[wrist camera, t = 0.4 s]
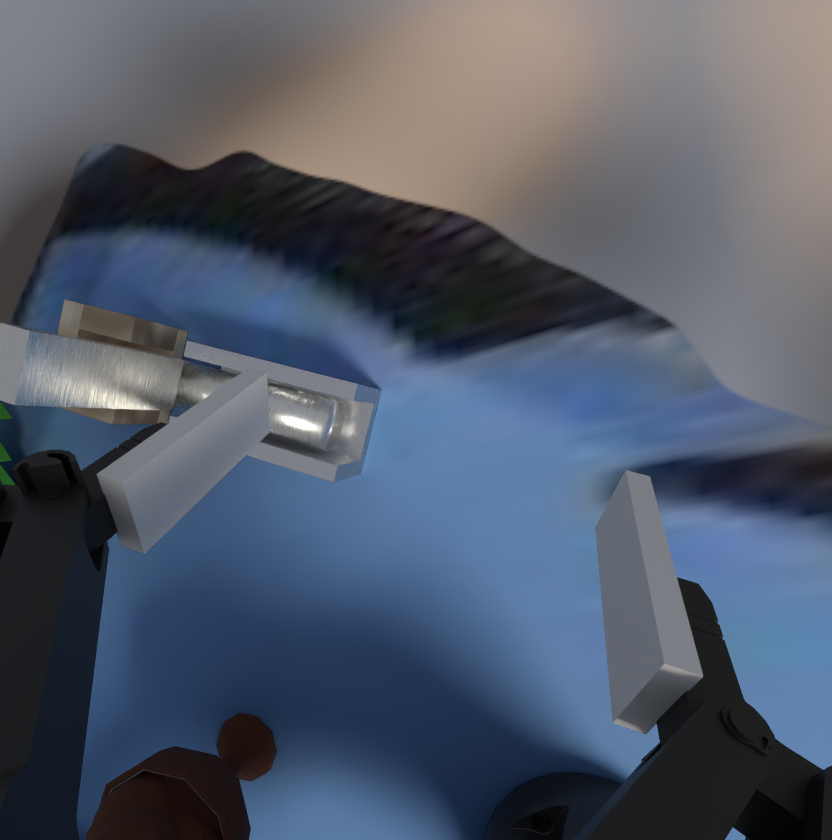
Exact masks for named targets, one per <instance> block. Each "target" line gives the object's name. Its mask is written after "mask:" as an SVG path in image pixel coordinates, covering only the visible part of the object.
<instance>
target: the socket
mask: <svg viewBox="0 0 832 840" xmlns="http://www.w3.org/2000/svg"><path fill="white" fill-rule="evenodd" d="M57 334H62V335H67V336H72V337H77V338H83V339H88V340H93V341H98V342H103V343H108V344H113V345H118V346H124V347H129V348H134V349H139V350H144V351H149V352H154V353H159V354H163V355H167V356H170V357H174V358H178V359H182V356H183V351H184V347H185V342H186V338H187V334H188V331H184V330H181V329H177V328H173V327H170V326H166V325H163V324H159V323H155V322H152V321H148V320H145V319H141V318H138V317H134V316H130V315H126V314H122V313H118V312H113V311H109V310H105V309H101V308H97V307H93V306H89V305H85V304H81V303H77V302H73V301H69V300H64V304H63V309H62V314H61V319H60V323H59V328H58V333H57ZM59 408H62V409H65V410H68V411H71V412H75V413H78V414H81V415H84V416H87V417H90V418H94V419H97V420H100V421H103V422H106V423H109V424H158V423H161V422H163V423H166V424H167V422H168V418H169V414H170V411H165V410H137V409H109V408H81V407H59Z"/></svg>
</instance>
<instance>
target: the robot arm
mask: <svg viewBox="0 0 832 840" xmlns="http://www.w3.org/2000/svg"><path fill="white" fill-rule="evenodd" d="M269 432H270V420H269V403H268V385H267V372H263V371H259V370H256V369H252V368H247V369H246V370H244V371H243V372H241V373H240V374H239V375H237V376H236V377H234V378H233V379H231V380H230V381H229V382H227V383H226V384H224V385H223V386H221V387H220V388H219V389H217V390H216V391H214V392H213V393H211V394H210V395H209V396H207V397H206V398H204V399H203V400H201V401H200V402H199V403H197V404H196V405H194V406H193V407H192V408H190V409H189V410H187V411H186V412H184V413H183V414H182V415H180V416H179V417H177V418H176V419H174V420H173V421H172V422H170V423H169V424H166V423H163V422H161V423H158V424H155V425H152V426H150V427H147V428H144V429H143V430H141V431H140V432H138V433H137V434H135V435H134V436H132V437H131V438H130V440H126V441H125V442H123V443H122V444H120V445H119V447H118V448H117V447H116V448H115V449H113V450H112V451H110V452H109V453H107V454H106V455H104V456H103V457H101V458H100V459H98V460H97V461H95V462H94V463H92V464H91V465H89V466H88V467H86V468H85V469H83V470H82V471H80V468H79V465H78V463H77V460H76V457H75V455H73V454H72V453H71V452H69V451H64V450H47V451H42V452H38V453H35V454H32V455H30V456H27V457H25V458H23V459H22V460H21V461H19V462H18V463H16V464H15V465H14V467H13V468H12V469H11V472H12V474H13V476H14V478H15V480H16V482H17V484H18V485H3V483H2V482H1V480H0V840H79V836H78V830H77V821H76V814H77V803H78V795H79V787H80V779H81V771H82V763H83V755H84V747H85V739H86V731H87V723H88V715H89V707H90V699H91V690H92V682H93V674H94V666H95V658H96V650H97V642H98V634H99V626H100V618H101V610H102V602H103V594H104V586H105V578H106V570H107V562H108V553H109V547H108V542H107V540H108V539H110V538H111V537H112V536H113V535H114V534H115V533H117V534H118V537H119V540H120V542H121V545H122V546H123V547H126V548H128V549H131V550H134V551H137V552H140V553H142V554H145V553H146V552H147V551H148V550H149V549H150V548H152V547H153V546H154V545H155V544H156V543H157V542H158V541H159V540H160V539H161V538H162V537H163V536H164V535H165V534H166V533H167V532H168V531H169V530H170V529H171V528H172V527H173V526H174V525H175V524H176V523H177V522H178V521H179V520H180V519H181V518H182V517H183V516H184V515H185V514H186V513H187V512H188V511H189V510H190V509H192V508H193V507H194V506H195V505H196V504H197V503H198V502H199V501H200V500H201V499H202V498H203V497H204V496H205V495H206V494H207V493H208V492H209V491H210V490H211V489H212V488H213V487H214V486H215V485H216V484H217V483H218V482H219V481H220V480H221V479H222V478H223V477H224V476H225V475H226V474H227V473H228V472H229V471H230V470H232V469H233V468H234V467H235V466H236V465H237V464H238V463H239V462H240V461H241V460H242V459H243V458H244V457H245V456H246V455H247V454H248V453H249V452H250V451H251V450H252V449H253V448H254V447H255V446H256V445H257V444H258V443H259V442H260V441H261V440H262V439H263V438H264V437H265V436H266V435H267V434H268V433H269ZM595 528H596V539H597V551H598V562H599V573H600V584H601V595H602V606H603V618H604V629H605V640H606V651H607V662H608V673H609V685H610V696H611V707H612V718H613V723H616V724H618V725H621V726H624V727H627V728H630V729H632V730H635V731H638V732H641V733H644V734H647V733H648V732H649V731H650V730H651V729H652V728H653V727H654V726H655V725H656V724H657V727H658V733H659V739H660V743H659V744H658V745H657V746H656V747H655V748H653V749H652V750H651V751H650V752H649V753H648V754H647V755H646V756H645V757H644V758H643V759H642V762H641V764H640V765H639V766H638V767H637V768H636V769H635V770H634V771H633V773H632V774H631V775H630V776H629V777H628V778H627V779H626V781H625V782H624V783H623V784H622V785H620V784H617V783H615V782H612V781H610V780H607V779H603V778H600V777H596V776H592V775H585V774H576V773H563V774H553V775H548V776H543V777H540V778H537V779H534V780H532V781H529V782H527V783H525V784H523V785H522V786H520V787H518V788H517V789H516V790H514V791H513V792H511V793H510V794H509V795H508V796H507V797H506V798H505V799H504V800H503V801H502V802H501V804H500V805H499V806H498V807H497V809H496V810H495V812H494V814H493V815H492V817H491V819H490V822H489V824H488V826H487V830H486V833H485V837H484V840H725V838H726V837H727V835H728V834H729V832H730V830H731V829H732V827H734V828H735V829H736V830H738V831H739V832H740V833H742V834H743V835H745V836H746V838H745V840H832V766H830V767H828V768H826V769H824V770H822V769H821V768H819V767H817V766H816V765H814V764H813V763H811V762H810V761H808V760H806V759H805V758H803V757H802V756H800V755H799V754H797V753H795V752H794V751H792V750H791V749H789V748H787V747H786V746H784V745H783V744H782V743H780V742H779V741H778V740H776V739H775V737H774V734H773V733H772V731H771V729H770V727H769V726H768V724H767V722H766V721H765V720H764V719H763V718H762V716H761V715H760V714H759V713H758V712H757V711H756V710H755V709H754V708H753V707H752V706H750V705H749V704H748V703H746V702H745V700H744V698H743V695H742V692H741V689H740V686H739V683H738V680H737V677H736V674H735V671H734V668H733V665H732V662H731V659H730V656H729V653H728V650H727V647H726V644H725V641H724V640H723V639H722V638H723V635H722V632H721V629H720V626H719V625H718V624H717V622H718V620H717V617H716V614H715V611H714V607H713V604H712V602H711V601H710V599H709V598H708V596H707V595H706V594H705V592H704V591H703V589H702V588H701V587H700V585H699V584H697V583H694V582H691V581H687V580H684V579H681V578H677V576H676V572H675V569H674V565H673V561H672V557H671V554H670V550H669V546H668V543H667V539H666V535H665V531H664V528H663V524H662V520H661V516H660V513H659V509H658V505H657V502H656V498H655V494H654V490H653V487H652V483H651V479H650V477H649V476H646V475H642V474H638V473H634V472H631V471H627V470H626V471H625V473H624V474H623V476H622V478H621V480H620V482H619V484H618V486H617V488H616V490H615V491H614V493H613V495H612V497H611V499H610V501H609V503H608V505H607V507H606V509H605V510H604V512H603V514H602V516H601V518H600V520H599V522H598V524H597V526H596V527H595Z"/></svg>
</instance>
